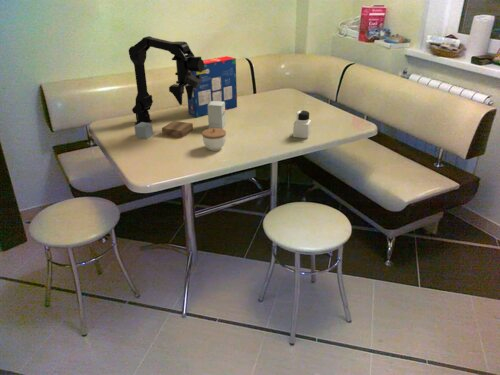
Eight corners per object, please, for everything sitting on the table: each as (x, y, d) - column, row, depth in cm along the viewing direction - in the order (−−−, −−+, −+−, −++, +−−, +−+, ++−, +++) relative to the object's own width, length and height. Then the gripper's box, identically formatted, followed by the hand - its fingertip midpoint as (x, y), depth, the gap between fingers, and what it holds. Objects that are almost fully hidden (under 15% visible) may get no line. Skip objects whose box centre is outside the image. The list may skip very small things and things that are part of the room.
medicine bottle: (310, 133, 203) (312, 110, 197) (307, 138, 197) (308, 114, 192) (296, 132, 205) (297, 108, 200) (292, 137, 199) (293, 113, 194)
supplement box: (222, 129, 209) (221, 105, 203) (208, 129, 210) (206, 105, 204) (226, 124, 215) (225, 101, 209) (212, 124, 217) (211, 100, 211)
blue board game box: (228, 104, 246) (227, 56, 233) (237, 107, 241) (235, 58, 227) (188, 114, 231) (184, 63, 217) (196, 117, 226) (192, 66, 212)
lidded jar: (229, 151, 186) (228, 131, 181) (205, 154, 183) (204, 134, 179) (223, 142, 195) (222, 123, 190) (201, 145, 192) (199, 126, 188)
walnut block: (162, 135, 204) (162, 128, 202) (174, 128, 213) (173, 120, 211) (182, 138, 201) (181, 130, 199) (193, 130, 209) (192, 123, 208)
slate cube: (136, 137, 202) (134, 126, 199) (143, 133, 206) (141, 122, 204) (146, 139, 200) (144, 127, 197) (153, 134, 204) (151, 123, 202)
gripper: (188, 76, 185) (190, 109, 193) (207, 67, 201) (208, 98, 208) (166, 74, 189) (170, 107, 197) (187, 65, 204) (189, 96, 212)
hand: (185, 102), depth 203 cm, fingers open, 9 cm apart
